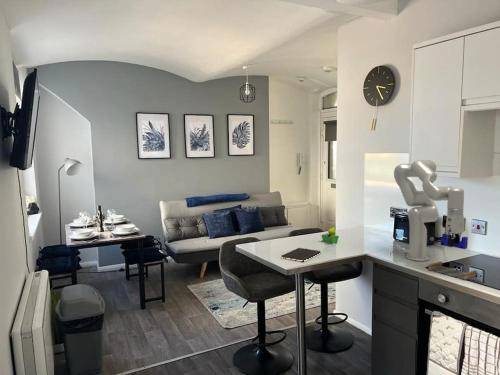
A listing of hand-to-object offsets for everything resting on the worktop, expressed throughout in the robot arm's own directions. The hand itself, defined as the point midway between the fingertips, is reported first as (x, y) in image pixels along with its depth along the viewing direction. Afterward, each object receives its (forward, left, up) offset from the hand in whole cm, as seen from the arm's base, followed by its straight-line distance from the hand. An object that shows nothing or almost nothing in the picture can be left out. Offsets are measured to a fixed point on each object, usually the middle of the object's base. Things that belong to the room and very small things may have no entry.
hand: (453, 245), depth 202 cm
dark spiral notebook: (-72, -45, -16) cm, 87 cm away
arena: (0, -1, -15) cm, 15 cm away
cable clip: (0, 0, -1) cm, 1 cm away
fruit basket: (-87, -5, -16) cm, 89 cm away
